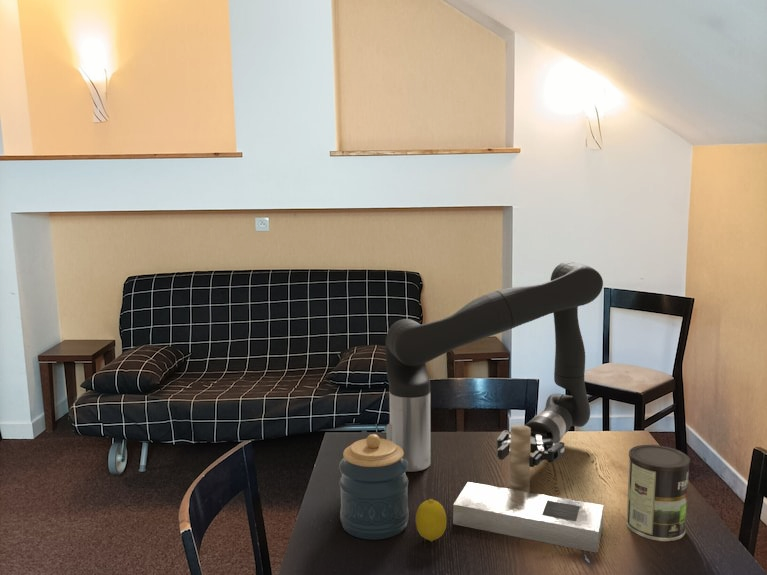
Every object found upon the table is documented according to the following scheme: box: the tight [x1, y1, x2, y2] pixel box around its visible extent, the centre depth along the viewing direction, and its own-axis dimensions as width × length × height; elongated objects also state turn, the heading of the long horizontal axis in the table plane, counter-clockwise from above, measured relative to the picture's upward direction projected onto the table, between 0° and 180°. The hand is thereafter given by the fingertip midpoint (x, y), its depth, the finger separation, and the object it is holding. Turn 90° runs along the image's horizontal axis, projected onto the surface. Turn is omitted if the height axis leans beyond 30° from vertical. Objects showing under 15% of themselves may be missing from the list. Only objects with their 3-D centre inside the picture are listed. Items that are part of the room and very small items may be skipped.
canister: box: [338, 433, 410, 541], centre depth 123 cm, size 13×13×18 cm
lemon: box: [415, 498, 448, 542], centre depth 117 cm, size 6×6×8 cm
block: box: [452, 481, 605, 554], centre depth 122 cm, size 26×10×4 cm, turn 67°
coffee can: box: [625, 444, 691, 542], centre depth 120 cm, size 10×10×14 cm
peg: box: [509, 424, 531, 492], centre depth 134 cm, size 4×4×14 cm
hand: (515, 458), depth 132 cm, fingers open, 6 cm apart
